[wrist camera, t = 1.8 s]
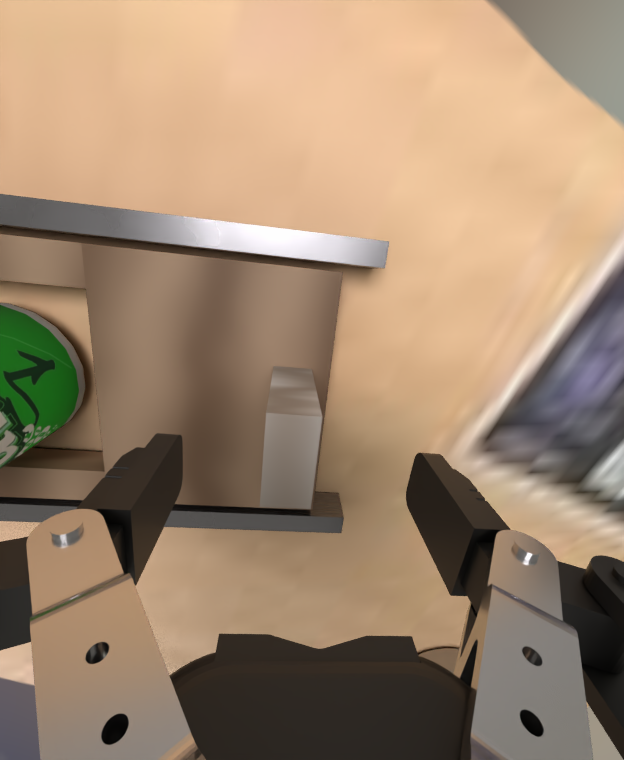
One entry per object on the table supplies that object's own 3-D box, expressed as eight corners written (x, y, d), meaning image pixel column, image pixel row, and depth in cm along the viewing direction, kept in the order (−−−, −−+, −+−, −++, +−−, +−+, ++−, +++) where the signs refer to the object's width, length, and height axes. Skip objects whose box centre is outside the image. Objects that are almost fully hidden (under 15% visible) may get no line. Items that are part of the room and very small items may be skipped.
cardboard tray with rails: (337, 272, 18) (372, 273, 10) (310, 489, 22) (321, 602, 15) (-186, 213, 16) (-634, 160, 8) (-102, 469, 20) (-342, 592, 12)
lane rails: (376, 245, 18) (389, 241, 16) (336, 507, 23) (341, 533, 21) (-368, 155, 15) (-488, 134, 12) (-218, 483, 20) (-283, 510, 18)
